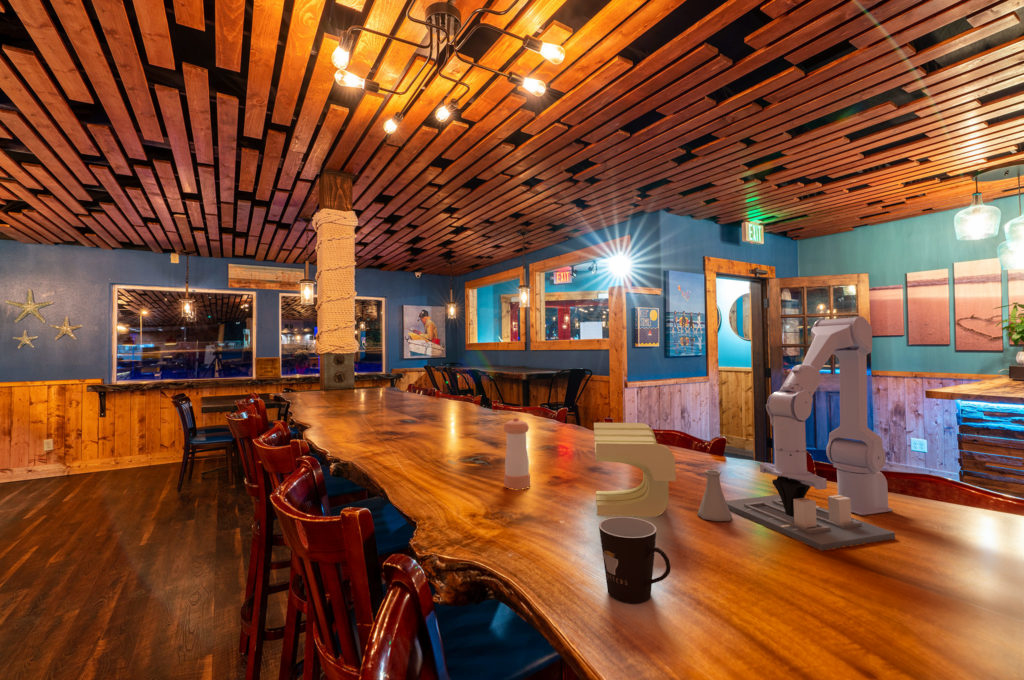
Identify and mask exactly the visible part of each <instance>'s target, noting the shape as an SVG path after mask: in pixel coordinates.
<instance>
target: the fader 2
mask: <svg viewBox="0 0 1024 680" xmlns="http://www.w3.org/2000/svg"><path fill="white" fill-rule="evenodd" d="M827 506H828V507H827V508H828V509H827V510H829V521H832V522H835V523H838V524H842V523H849V522H851V518H852V512H851V501H850V498H848V497H845V496H841V495H838V494H835V495H828V496H827Z"/></svg>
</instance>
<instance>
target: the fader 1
mask: <svg viewBox="0 0 1024 680" xmlns="http://www.w3.org/2000/svg"><path fill="white" fill-rule="evenodd" d="M793 500H794V524H797V525H799V526H802V527H804V528H809V527H816V526H817V521H816V506H817V503H816V500H814V499H810V498H807V497H804V498H798V499H793Z"/></svg>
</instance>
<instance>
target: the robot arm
mask: <svg viewBox="0 0 1024 680" xmlns="http://www.w3.org/2000/svg"><path fill="white" fill-rule="evenodd" d="M810 335H811V340H812V341H811V344H810V346H809V348H808V350H807V352H806V355H805V357H804V359H803V361H802V363H801V364H797V365H794V366H793V367H792V369H791V371H790V372H789V374H788V376H787V377H786V379H785V380H784V382H783V384H782V385H781V387H780V388H779V390H777V391H774V392H773V393H772V394H770V395H769V396H768V398H767V401H766V404H765V409H766V412H767V414H768V416H769V420H770V421H769V423H770V425H771V426H773V427H772V428H773V447H774V448H773V449H774V463H770V462H761V463H759V472H760V473H763V474H766V473H767V474H770V475H773V476H776V479H774V478H773V479H772V482H771V483H772V484H773V486H774V488H775V489H776V490H777V492H778V495H780V497H781V500H782V502H783V506H784V509H785V512H786V515H788V516H791V517H793V516H794V500H793V499H798V498H806V495H807V493H808V491H809V490H810V488H811V487H813V488H814V489H816V490H827V489H828V487H827V486H828V485H827V484H828V483H827V478H825V477H821V476H818V475H817V474H814V473H812V472H810V471H808V466H807V465H808V464H807V463H808V462H807V460H808V459H807V442H806V441H807V439H806V420H807V419H809V417H810V415H811V413H812V405H813V402H814V398H813V396H814V394H815V392H816V391H817V389H818V387H819V386H820V384H821V382H822V378H823V377H822V374H821V372H820V371H821V370H822V368H823V367H824V366H825V364H826V363H827V361H829V359H830V358H831V357H832V355H835V356H836V358H837V359H838V360H839V426H838V427H837V428H835V429H833V430H831V432H829V435H828V442H827V445H826V448H825V449H826V451H825V452H826V456H827V459H828V461H829V462H830V463H831V464H833V465H832V467H833V468H836V478H837V479H836V480H837V482H836V483H837V485H836V486H837V495H841V496H845V497H848V498H850V501H851V513H853V514H856V515H860V516H868V515H874V514H880V513H881V514H882V513H886V512H887V513H888V512H893V508H891V507H889V495H888V494H889V492H888V490H889V489H888V480H887V479H886V476H885V475H884V474H883V473H882V472H881V470H882V469H883V468H884V466H885V464H886V452H885V450H884V445H883V439H882V437H881V436H879V435H878V434H877V433H876V432H875V431H873V430H871V429H870V428H869V427H868V383H867V382H868V380H867V379H868V378H867V377H868V376H867V375H868V374H867V372H868V371H867V370H868V369H867V364H868V363H867V356H868V355H869V354H871V353H872V352H873V327H872V326H871V324H870V322H869V321H868V320H867V319H866V318H865V317H864V316H862V315H860V316H855V317H845V318H843V317H841V318H830V319H827V318H826V319H817V320H816V321H815V322H814V324H813V325H812V328H811V330H810Z"/></svg>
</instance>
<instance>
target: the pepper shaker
mask: <svg viewBox="0 0 1024 680" xmlns="http://www.w3.org/2000/svg"><path fill="white" fill-rule="evenodd" d="M529 429H530V427H529V424H528V422H526V421H524V420H521V419H519V417H514V418H513V419H512V420H509V421H506V422H505V424H504V426H503V430H504V432H505V433H506V450H505V460H504V469H505V470H504V471H505V473H504V474H503V484H504V485H505V486H506V487H508V488H513V489H522V488H527V487H529V486H530V487H531V473H530V471H529V469H530V468H529V465H530V464H529V463H530V462H529V456H528V455H529V454H528V450H527V433H528V431H529ZM504 485H503V486H504Z"/></svg>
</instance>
